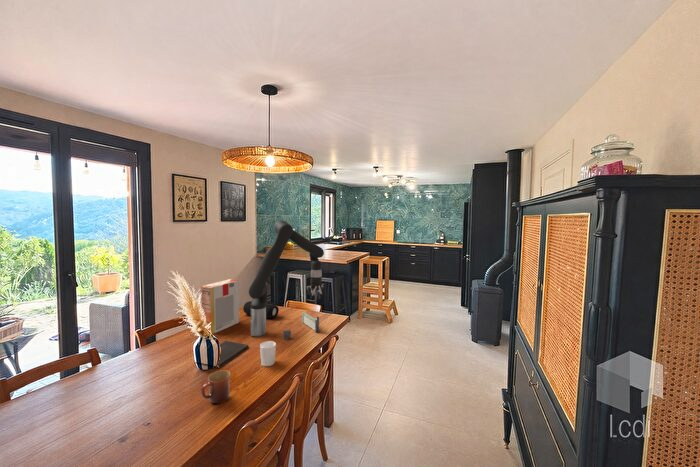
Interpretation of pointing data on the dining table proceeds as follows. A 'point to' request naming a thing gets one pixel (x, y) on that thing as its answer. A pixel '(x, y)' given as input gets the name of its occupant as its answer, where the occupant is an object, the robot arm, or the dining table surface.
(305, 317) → the gate
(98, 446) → the dining table surface
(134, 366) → the dining table surface
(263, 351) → the white cup
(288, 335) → the latch block
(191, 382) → the dining table surface
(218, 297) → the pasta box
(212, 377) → the mug
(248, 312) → the portable speaker
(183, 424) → the dining table surface
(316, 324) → the hinge post
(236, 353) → the hardcover book
